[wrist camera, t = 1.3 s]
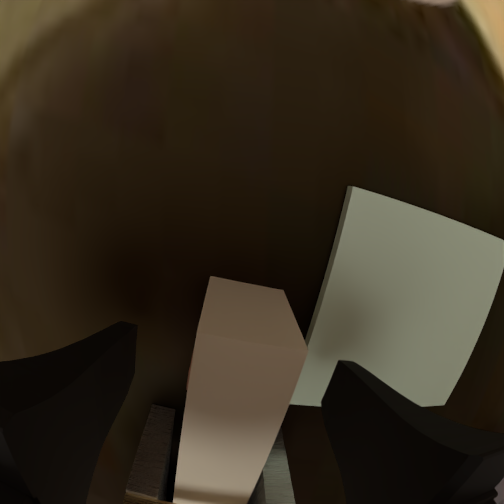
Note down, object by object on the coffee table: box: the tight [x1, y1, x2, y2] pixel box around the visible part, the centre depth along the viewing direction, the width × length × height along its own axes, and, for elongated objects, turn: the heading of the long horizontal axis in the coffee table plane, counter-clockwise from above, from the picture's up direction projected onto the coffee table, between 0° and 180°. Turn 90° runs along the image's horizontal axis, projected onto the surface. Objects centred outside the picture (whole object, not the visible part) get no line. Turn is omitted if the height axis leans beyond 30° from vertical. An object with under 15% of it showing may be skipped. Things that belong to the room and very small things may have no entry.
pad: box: [290, 186, 504, 407], centre depth 13 cm, size 10×10×1 cm
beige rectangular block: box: [173, 276, 309, 504], centre depth 12 cm, size 3×10×5 cm, turn 167°
